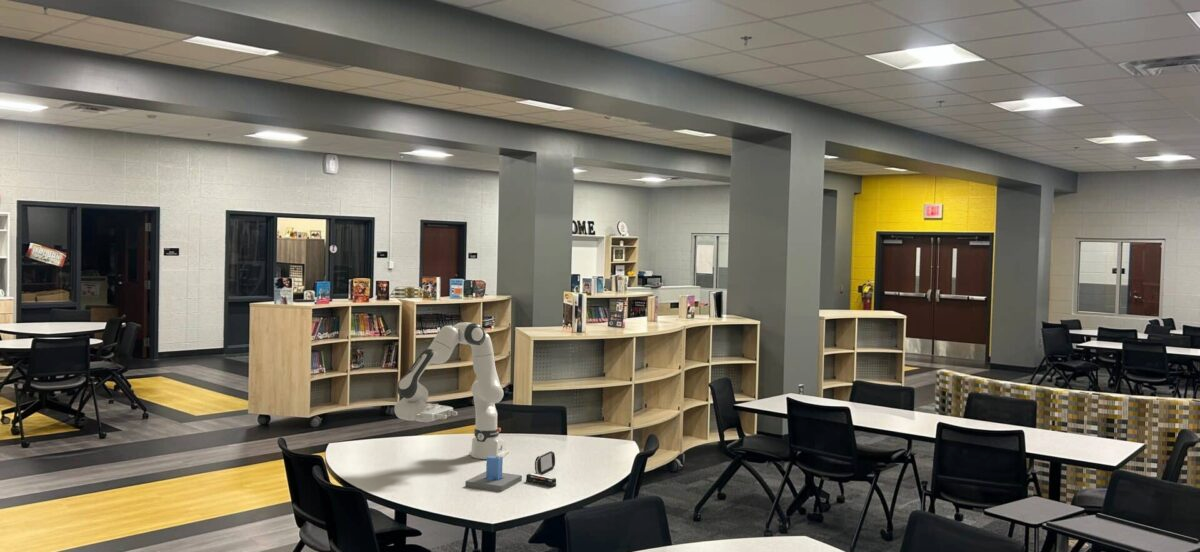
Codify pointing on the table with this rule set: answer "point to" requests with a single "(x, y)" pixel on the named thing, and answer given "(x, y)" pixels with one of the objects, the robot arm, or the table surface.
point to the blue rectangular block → (494, 468)
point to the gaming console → (545, 463)
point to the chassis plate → (493, 482)
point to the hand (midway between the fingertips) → (451, 415)
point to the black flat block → (541, 480)
